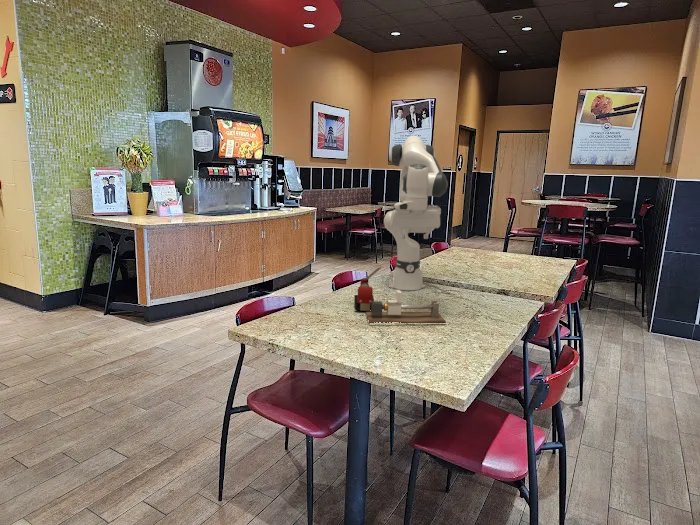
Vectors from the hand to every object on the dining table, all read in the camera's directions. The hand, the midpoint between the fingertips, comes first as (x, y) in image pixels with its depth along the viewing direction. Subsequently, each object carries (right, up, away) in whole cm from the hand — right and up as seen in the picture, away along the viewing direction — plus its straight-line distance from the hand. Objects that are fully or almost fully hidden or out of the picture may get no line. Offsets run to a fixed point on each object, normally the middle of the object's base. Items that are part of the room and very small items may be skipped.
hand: (414, 238), depth 190 cm
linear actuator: (-5, -33, -5) cm, 34 cm away
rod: (-5, -31, -6) cm, 32 cm away
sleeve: (-9, -30, -7) cm, 32 cm away
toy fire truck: (-19, -30, +10) cm, 37 cm away
